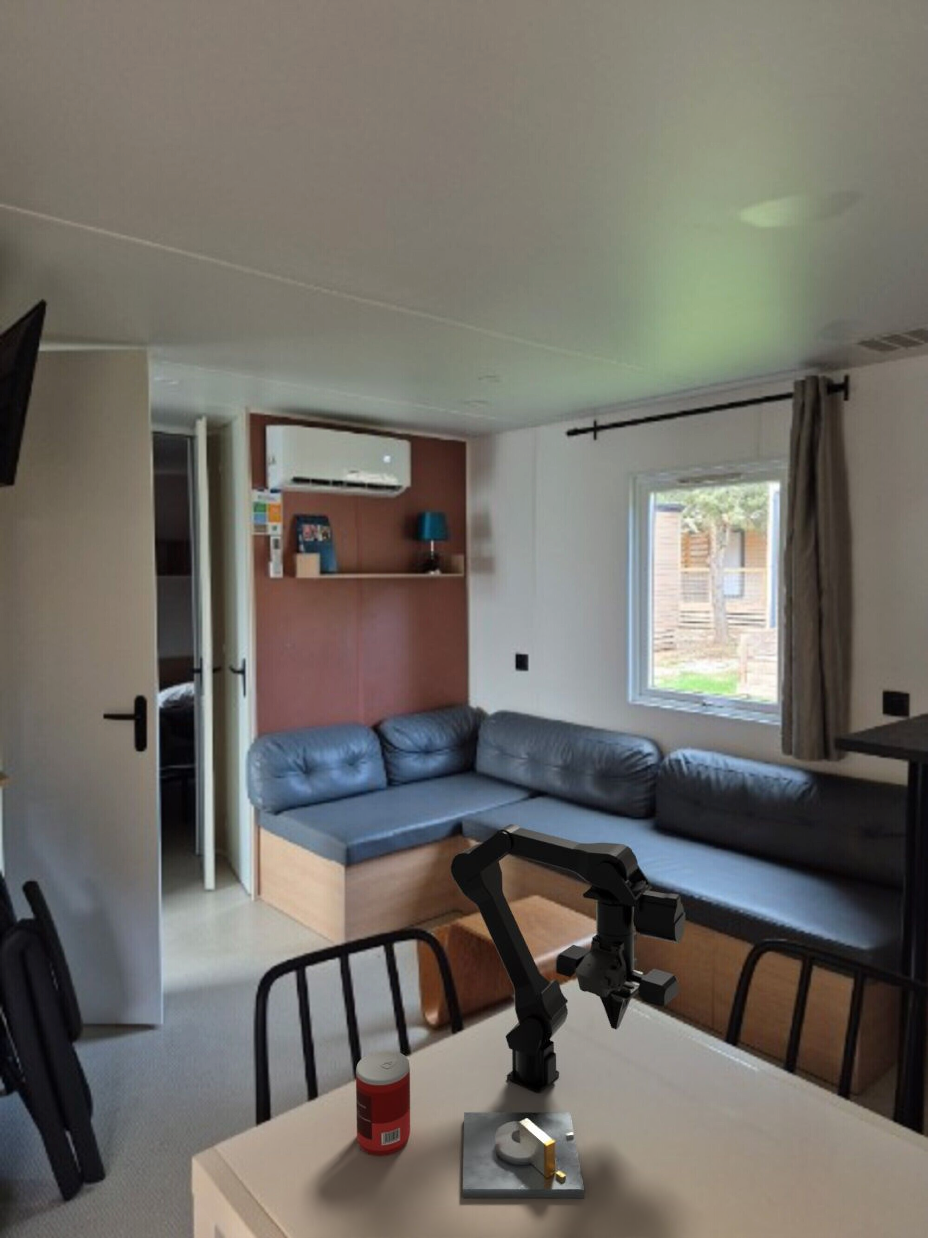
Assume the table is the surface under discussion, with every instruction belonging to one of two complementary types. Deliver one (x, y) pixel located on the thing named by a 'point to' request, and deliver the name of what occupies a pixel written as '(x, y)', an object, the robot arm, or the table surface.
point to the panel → (509, 1180)
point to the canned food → (383, 1102)
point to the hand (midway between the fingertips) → (615, 1028)
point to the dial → (526, 1146)
